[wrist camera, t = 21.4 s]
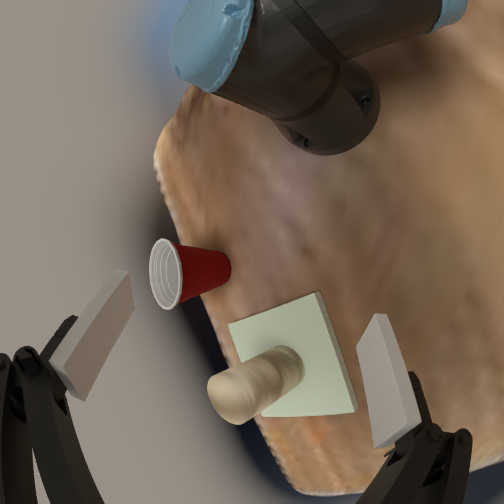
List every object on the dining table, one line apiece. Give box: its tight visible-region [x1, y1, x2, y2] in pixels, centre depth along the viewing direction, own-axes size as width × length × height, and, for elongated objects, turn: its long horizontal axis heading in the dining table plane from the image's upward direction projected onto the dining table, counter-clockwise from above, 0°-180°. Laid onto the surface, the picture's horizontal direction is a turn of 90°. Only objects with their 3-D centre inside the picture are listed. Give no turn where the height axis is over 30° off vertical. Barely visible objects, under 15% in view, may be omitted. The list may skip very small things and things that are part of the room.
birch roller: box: [207, 345, 305, 425], centre depth 33 cm, size 7×7×12 cm
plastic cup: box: [149, 238, 231, 309], centre depth 44 cm, size 11×11×12 cm
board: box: [228, 291, 359, 417], centre depth 39 cm, size 18×18×2 cm
